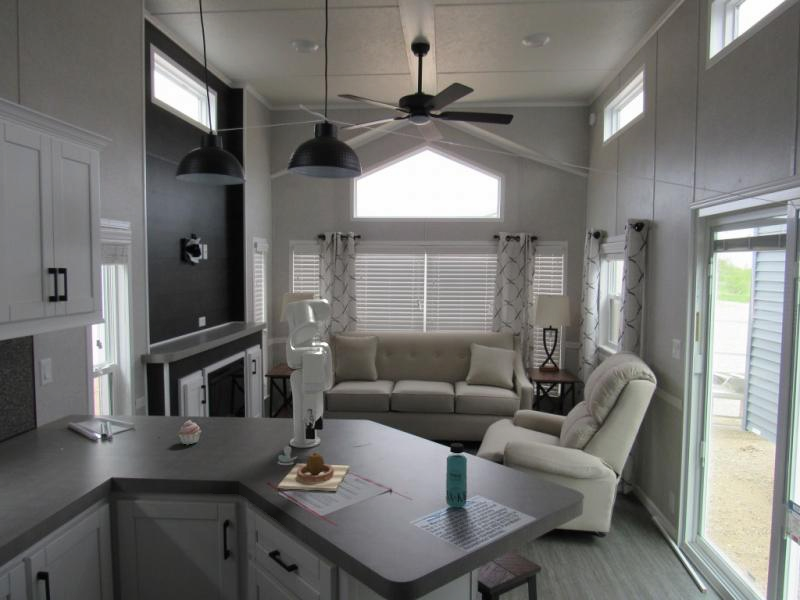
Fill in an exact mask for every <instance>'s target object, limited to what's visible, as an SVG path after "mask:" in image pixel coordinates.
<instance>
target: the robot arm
mask: <svg viewBox="0 0 800 600" xmlns="http://www.w3.org/2000/svg"><path fill="white" fill-rule="evenodd" d="M284 312H285V317H286V321H287V323H288V326H289V328H290V331H291V333H290V335H289V336H288V338H287V339H286V344H285V351H286V353H285V354H286V363H287V365H288V367H289V368H290V369H296V370H294V371H292V372H291V374H290V377H289V378H290V379H289V380H290V387H291V393H292V413H293V414H292V415H293V417H292V418H293V419H292V421H293V438H291V439H290V442H289V446H290V447H291V446H292V447H293V448H297V449H298V448H299V449H300V448H302V449H303V448H304V449H305V448H312V447H316V446H318V445H319V444H321V438H320V437H318V436H317V434H318V433H317V430H318V431H322V430H323V429H324V419H323V418H324V415H323V414H324V392H325V391H328V390H331V388H332V387H333V362H332V361H333V359H332V350H331V346H330V345H329V343H327V342H321V341H320V342H319V341H317V342H314V339H313V338H315V337H316V336H317V335H318V334H319V331H320V328H319V327H320V326H319V322H324V321H325V322H326V321H329V320H330V319H331V318H332V306H331V303H330V301H329V300H327V299H324V298H323V299H321V298H320V299H318V298H317V299H315V298H313V299H303V300H297V301H291V302H289V303H287V304H286V306H285V311H284Z"/></svg>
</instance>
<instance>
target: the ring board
mask: <svg viewBox="0 0 800 600" xmlns="http://www.w3.org/2000/svg"><path fill="white" fill-rule="evenodd" d="M350 468H351V467H350V465H341V464H339V465H336V464H328V463H324V468H323V470H322V472H321V473H319V474H318V475H313V474H310V473H309V471H308V469H307V465H306V463H296V464H295V465H294V466H293V467H292V469H291V470H290V471H289V472H288V473H287V475H286V476H285V477H284V478H283V480H282V481H280V483H279V484H278V485H277V489H278V488H284V489H283V490H289V489H307V490H306V491H309V490H325V491H324V492H329V491H336V492H337V491H338V490H339V488H340V486H341V484H342V483H343V481H344V480H345V478H344V477H346V476H347V474H348V472H349V470H350ZM341 482H342V483H341ZM338 487H339V488H338ZM337 489H338V490H337Z"/></svg>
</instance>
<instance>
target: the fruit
mask: <svg viewBox="0 0 800 600" xmlns="http://www.w3.org/2000/svg"><path fill="white" fill-rule="evenodd" d="M305 464H306V465H307V469H308V471H309V473H310V474H313V475H318V474H319V473H321V472H322V470H323V468H324V464H325V460H324V458H323V455H322V454H320V453H318V452H313V453H310V454H309V455H308V457H307V458H306V463H305Z"/></svg>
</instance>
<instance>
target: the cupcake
mask: <svg viewBox="0 0 800 600" xmlns="http://www.w3.org/2000/svg"><path fill="white" fill-rule="evenodd" d="M201 432H202V430H201V428H200V426H199V425H197V423H196V422H193V421H192V420H191V419H189V420H187V421H185V422H184V423H183V425H181V426H180V430H179V432H178V433H177V435H178V436H179V438H180V441H181V442H180V443H181V444H182V445H183V444H193V443H196V442H197V443H199V439H200V435H201ZM197 443H196V444H197ZM193 445H194V444H193Z"/></svg>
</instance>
